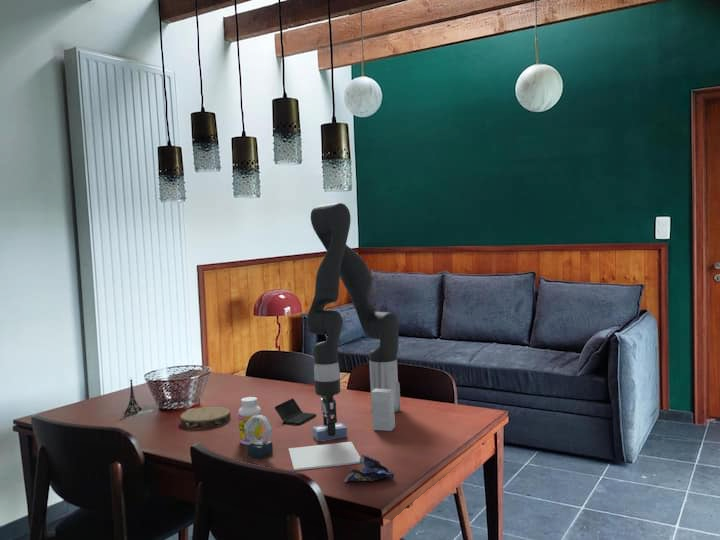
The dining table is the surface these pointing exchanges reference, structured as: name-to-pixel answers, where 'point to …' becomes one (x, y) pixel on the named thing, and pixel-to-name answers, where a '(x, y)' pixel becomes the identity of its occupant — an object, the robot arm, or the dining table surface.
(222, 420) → the beige round flat disc
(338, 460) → the mat
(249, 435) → the watch
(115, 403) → the dining table surface
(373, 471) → the snack package
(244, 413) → the supplement bottle
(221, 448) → the dining table surface
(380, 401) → the skincare box
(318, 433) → the card deck
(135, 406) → the eiffel tower figurine
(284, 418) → the handheld gaming console
